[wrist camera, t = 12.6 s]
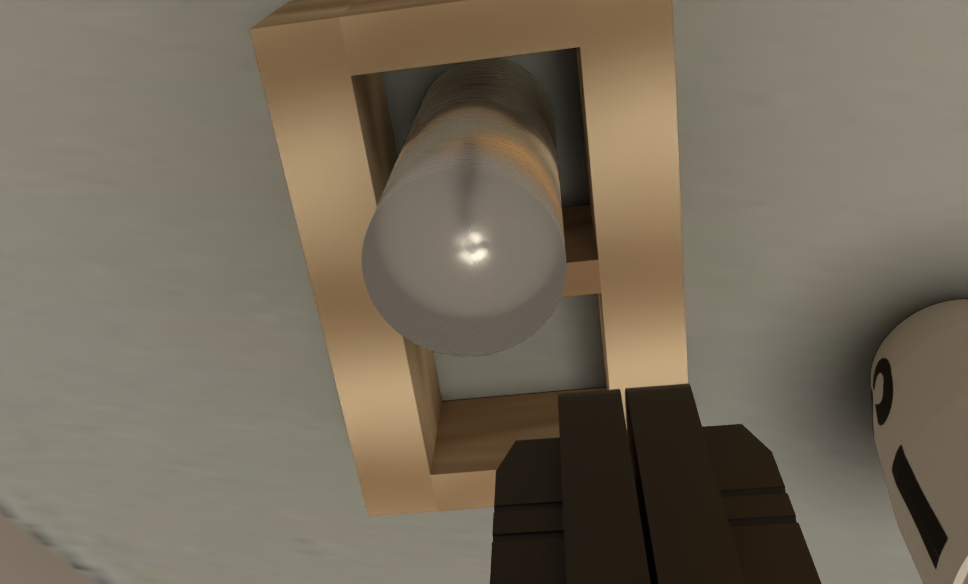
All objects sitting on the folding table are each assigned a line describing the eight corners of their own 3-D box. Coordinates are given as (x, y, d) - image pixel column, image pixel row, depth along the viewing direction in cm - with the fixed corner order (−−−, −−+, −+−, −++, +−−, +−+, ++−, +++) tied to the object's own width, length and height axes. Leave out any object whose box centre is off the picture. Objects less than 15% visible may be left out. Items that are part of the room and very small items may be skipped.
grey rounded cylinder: (408, 66, 26) (343, 181, 17) (547, 49, 26) (556, 158, 17) (429, 197, 28) (381, 364, 19) (560, 183, 27) (574, 347, 18)
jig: (289, 1, 25) (249, 29, 22) (650, -48, 24) (671, -27, 21) (386, 440, 32) (368, 516, 28) (673, 416, 31) (692, 492, 27)
